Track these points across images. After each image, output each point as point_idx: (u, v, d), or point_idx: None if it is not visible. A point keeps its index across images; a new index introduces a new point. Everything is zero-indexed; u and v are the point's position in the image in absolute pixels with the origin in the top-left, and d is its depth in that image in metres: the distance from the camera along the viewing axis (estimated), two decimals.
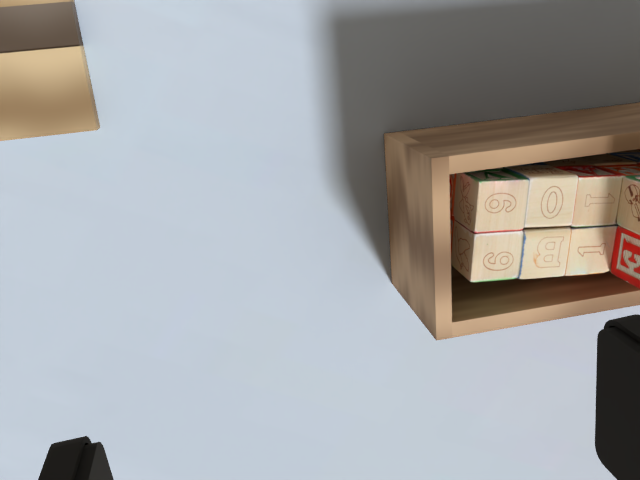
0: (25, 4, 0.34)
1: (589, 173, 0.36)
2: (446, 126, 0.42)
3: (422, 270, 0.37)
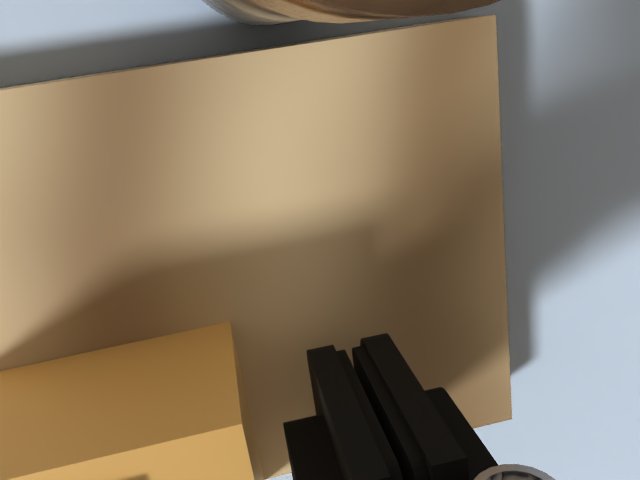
0: None
1: None
2: None
3: None
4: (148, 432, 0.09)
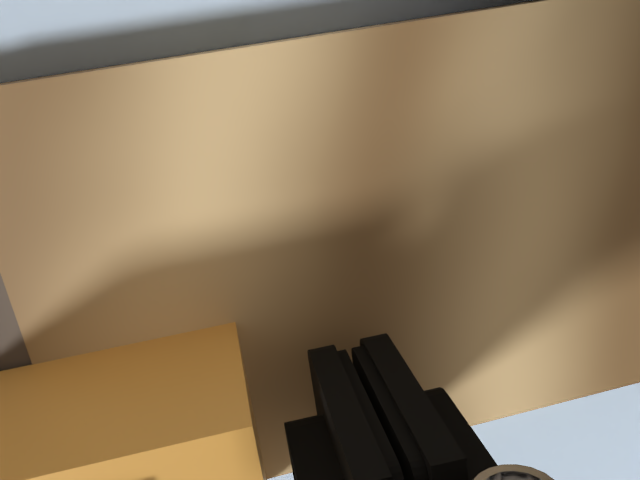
0: None
1: None
2: None
3: None
4: (157, 434, 0.09)
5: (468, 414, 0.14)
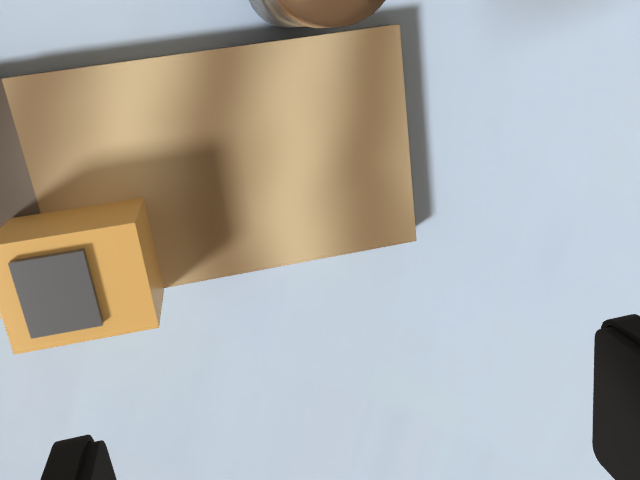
0: None
1: None
2: None
3: None
4: (94, 226, 0.21)
5: (276, 259, 0.26)
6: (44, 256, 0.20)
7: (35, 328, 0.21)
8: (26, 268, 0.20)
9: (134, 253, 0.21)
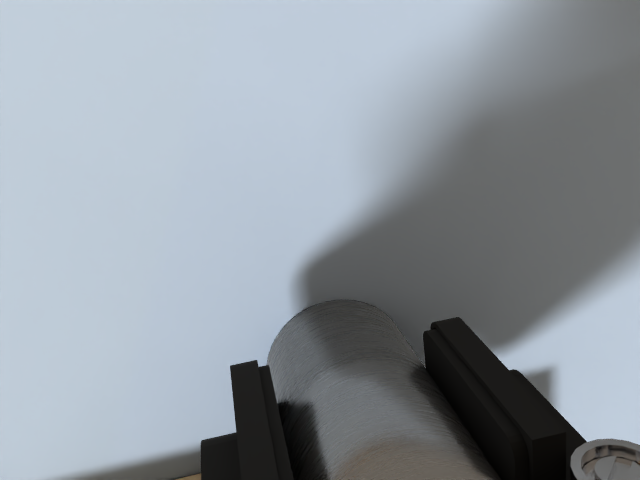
0: None
1: None
2: None
3: None
4: None
5: None
6: None
7: None
8: None
9: None
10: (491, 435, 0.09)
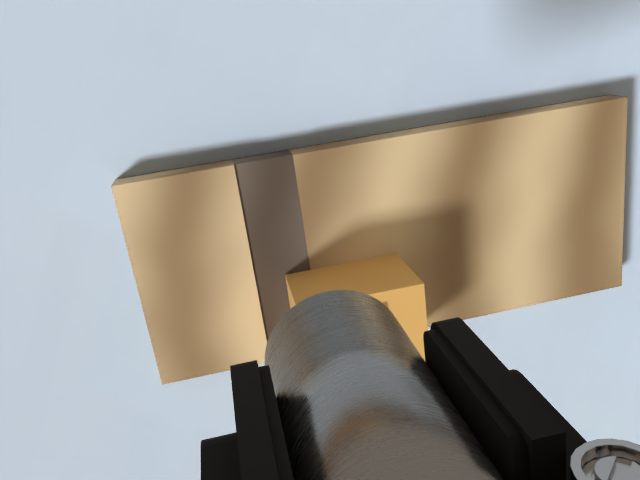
0: None
1: None
2: None
3: None
4: (386, 286, 0.24)
5: (501, 305, 0.29)
6: None
7: None
8: None
9: (420, 309, 0.24)
10: (491, 435, 0.09)
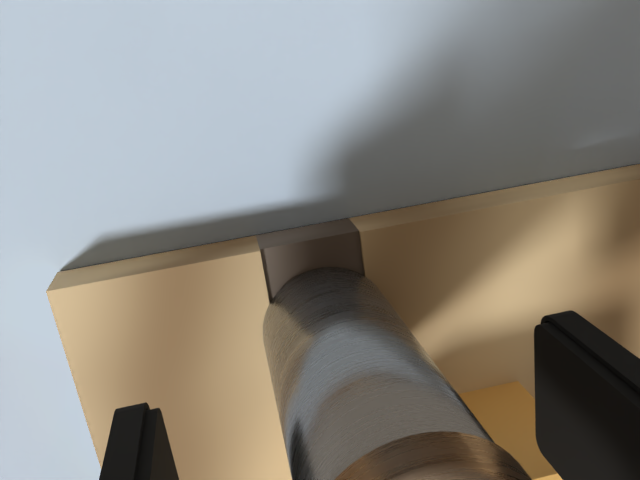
0: None
1: None
2: None
3: None
4: (528, 468, 0.14)
5: None
6: None
7: None
8: None
9: None
10: (638, 430, 0.09)
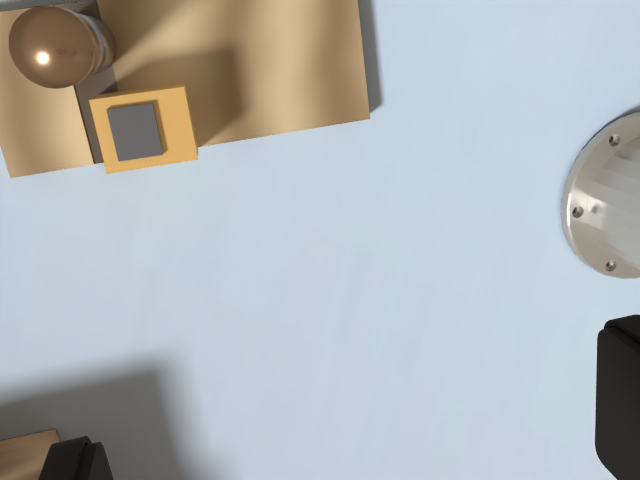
0: None
1: None
2: None
3: None
4: (158, 89, 0.33)
5: (273, 129, 0.38)
6: (128, 106, 0.33)
7: (121, 154, 0.33)
8: (117, 113, 0.33)
9: (183, 107, 0.33)
10: None
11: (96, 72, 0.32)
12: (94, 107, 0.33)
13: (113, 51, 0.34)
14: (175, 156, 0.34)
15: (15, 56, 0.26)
